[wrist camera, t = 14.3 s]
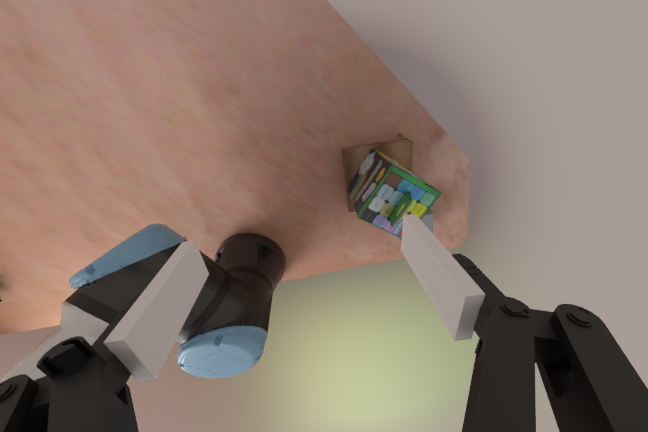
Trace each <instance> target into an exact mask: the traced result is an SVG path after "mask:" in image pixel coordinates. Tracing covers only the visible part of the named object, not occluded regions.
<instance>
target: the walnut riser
mask: <svg viewBox="0 0 648 432" xmlns="http://www.w3.org/2000/svg"><path fill="white" fill-rule="evenodd" d="M372 148H374V149H376V150H378V151H380V152H381V153H383V154H385V155H386V156H388V157H390V158H392V159H393V160H395V161H397V162H398V163H400V164H402V165H403V166H405V167H406V168H408V169H410V170H411V162H412V141H411V140H409V139H401V140H395V141H388V142H382V143H375V144H369V145H362V146H356V147H350V148H343V149H342V154H343V164H344V174H345V184H346V194H347V204H348V209H349V212H355V208H354V206H353V204H352V201H351V198H350V196H349V193H348V191H347V187H348V186H349V184H350V182H351V181H352V179H353V178H354V176H355V174H356V173H357V171H358V169H359V168H360V166H361V165H362V163H363V161H364V160H365V158H366V157H367V155H368V153H369V152H370V150H371V149H372Z"/></svg>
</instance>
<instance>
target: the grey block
mask: <svg viewBox="0 0 648 432" xmlns="http://www.w3.org/2000/svg"><path fill="white" fill-rule="evenodd" d="M433 220H434V213H433V212H431V211H430V210H428V211H427V213H426V214H425V215H424V217H423V218H422V219H421V221H422V222H423V223H424V224H425V225H426V227H427V228H428V229H429V230H430V231H431V232H432V233H433ZM400 239H401V238H400ZM401 241H402V239H401Z"/></svg>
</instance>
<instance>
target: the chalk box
mask: <svg viewBox="0 0 648 432" xmlns="http://www.w3.org/2000/svg"><path fill="white" fill-rule="evenodd" d="M347 191H348V193H349V196H350V198H351V201H352V204H353V206H354V208H355V211H356V213H357V217H358V218H359V219H361V220H363V221H366V222H368V223H370V224H372V225H374V226H376V227H378V228H380V229H382V230H384V231H387V232H389V233H391V234H393V235H395V236H397V237H399V238H401V239H402V228H403V215H410V214H416V215H417V216H418V217H419V219H420V220H421V219H422V218H423V217H424V215H425V214H426V213H427V211H428V210H429V209H430V207H431V206H432V205H433V203H434V202H435V201H436V199H437V198H438V197H439V196H440V191H438V190H437V189H436V188H434V187H433V186H431V185H430V184H429V183H427V182H426V181H425V180H423V179H422V178H420V177H419V176H418V175H416V174H415V173H414V172H412V171H411V170H410V169H408V168H406V167H405V166H403V165H402V164H400V163H398V162H397V161H395V160H393V159H392V158H390V157H388V156H386V155H385V154H383V153H381V152H380V151H378V150H376V149H374V148H372V149H371V150H370V152H369V153H368V155H367V157H366V158H365V160H364V161H363V163H362V165H361V166H360V168H359V169H358V171H357V173H356V174H355V176H354V178H353V179H352V181H351V182H350V184H349V186H348V187H347Z"/></svg>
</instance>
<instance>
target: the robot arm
mask: <svg viewBox="0 0 648 432" xmlns="http://www.w3.org/2000/svg"><path fill="white" fill-rule="evenodd" d="M401 252H402V253H403V255H404V257H405V258H406V260H407V262H408V263H409V265H410V267H411V268H412V270H413V272H414V273H415V275H416V277H417V278H418V280H419V282H420V284H421V285H422V287H423V289H424V291H425V292H426V294H427V296H428V297H429V299H430V301H431V302H432V304H433V306H434V308H435V309H436V311H437V313H438V314H439V316H440V318H441V319H442V321H443V323H444V324H445V326H446V328H447V330H448V331H449V333H450V335H451V336H452V338H453V340H454V341H457V340H464V339H471V337H472V334H473V331H475V332H476V333H477V335H478V336H479V338H480V339H479V342H478V345H477V348H476V351H475V353H476V358H475V363H474V369H473V374H472V379H471V385H470V390H469V396H468V401H467V407H466V412H465V418H464V423H463V428H462V432H536V416H535V363H537V366H538V369H539V371H540V375H541V378H542V381H543V384H544V387H545V390H546V392H547V395H548V398H549V401H550V404H551V407H552V410H553V413H554V416H555V419H556V422H557V425H558V428H559V431H560V432H648V389H647V388H646V386H645V384H644V383H643V381H642V380H641V378H640V377H639V375H638V374H637V372H636V371H635V369H634V368H633V366H632V365H631V363H630V362H629V360H628V359H627V357H626V356H625V354H624V353H623V351H622V350H621V348H620V347H619V345H618V344H617V342H616V341H615V339H614V337H613V336H612V334H611V333H610V331H609V330H608V328H607V327H606V325H605V324H604V323H603V322H602V320H601V319H600V318H599V317H597V316H596V315H595V314H593V313H592V312H590V311H588V310H586V309H584V308H582V307H579V306H575V305H571V304H562V305H558V307H557V308H556V309H555V311H554V312H548V311H540V310H533V309H529V307H528V306H526V305H525V304H524V303H522V302H520V301H519V300H516V299H514V298H510V297H506V296H504V295H503V293H502V292H501V291H499V289H498V288H497V287H496V286H495V285H494V284H493V283H492V282H491V281H490V280H489V279H488V278H487V277H486V276H485V275H484V274H483V273H482V272H481V270H480V269H479V268H477V266H476V265H475V264H474V263H473V262H472V261H471V260H470V259H468V258H467V257H465V256H463V255H462V254H453V255H451V254H450V253H449V252H448V251H447V250H446V248H445V247H444V246H443V245H442V244H441V243H440V241H439V240H438V239H437V238H436V237H435V236H434V235H433V233H432V232H431V231H430V230H429V229H428V228H427V227H426V225H425V224H424V223H423V222H422V221H421V220H420V219H419V217H418V216H417V215H416V214H410V215H403V228H402V241H401ZM284 269H285V257H284V254H283V252H282V250H281V248H280V247H279V246H278V245H277V244H276V243H275V242H273V241H272V240H270V239H269V238H267V237H264V236H262V235H258V234H250V233H246V234H239V235H235V236H232V237H230V238H229V239H227V240H226V241H224V242H223V243H222V245H221V246H220V247H219V249H218V251H217V253H216V255H215V259H214V261H213V260H211V259H210V258H209V257H208V256H206V255H205V254H204V253H202V252H201V251H200V250H199V249H198V247H197V245H196V242H195V240H194V241H187V238H185V237H182V236H180V235H179V234H178V233H176V232H175V231H173V230H172V229H170V228H169V227H167V226H166V225H163V224H152V225H149V226H147V227H145V228H144V229H142V230H140V231H139V232H137V233H136V234H134V235H132V236H131V237H129V238H128V239H126V240H125V241H123V242H122V243H120V244H119V245H117V246H116V247H114V248H113V249H111V250H110V251H108V252H107V253H105V254H104V255H103V256H101V257H100V258H98V259H97V260H95V261H94V262H93V263H91V264H90V265H88V266H87V267H85V268H84V269H83V270H81V271H79V272H78V273H76V274H75V275H74V276H72V277H71V278H70V279H69V283H70V285H71V288H74V289H76V288H78V289H77V290H76V291H75V292H74V293H73V294H72V295H71V296H70V297H69V298H67V299H66V300H65V301H64V302H63V303H62V319H61V322H60V325H59V326H58V327H57V328H56V329H55V330H54V331H53V332H52V333H51V334H49V335H48V337H46V338H45V339H44V340H43V341H42V342H41V343H40V344H39V345H38V346H36V347H35V348H34V349H33V350H32V351H31V352H30V353H29V354H28V355H27V356H26V357H25V358H24V359H22V360H21V361H20V362H19V363H18V364H17V365H16V366H15V367H14V368H13V369H12V370H11V371H10V372H9V373H7V374H6V375H5V376H4V377H3V378H2V379H1V380H0V432H139V431H138V427H137V422H136V417H135V412H134V408H133V403H132V398H131V393H130V389H129V387H128V385H127V384H126V382H127V380H128V379H129V377H130V375H132V376H133V377H134V378H135V379H136V380H137V382H141V381H148V380H155V379H156V378H157V376H158V374H159V372H160V370H161V368H162V366H163V364H164V362H165V360H166V358H167V356H168V354H169V352H170V350H171V348H172V346H173V344H174V342H176V343H178V344H180V345H181V347H180V348H179V350H178V357H177V361H178V363H179V366H180V367H181V368H182V369H183V370H184V371H186V372H188V373H190V374H192V375H196V376H200V377H207V378H221V377H230V376H234V375H238V374H240V373H243V372H245V371H247V370H249V369H251V368H252V367H253V366H254V365H256V364H257V362H258V361H259V360H260V358H261V356H262V353H263V349H264V345H265V341H266V339H267V331H268V325H269V317H270V310H271V302H272V295H273V291H274V290H275V288H276V286H277V285H278V283H279V281H280V280H281V278H282V276H283V274H284Z"/></svg>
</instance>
